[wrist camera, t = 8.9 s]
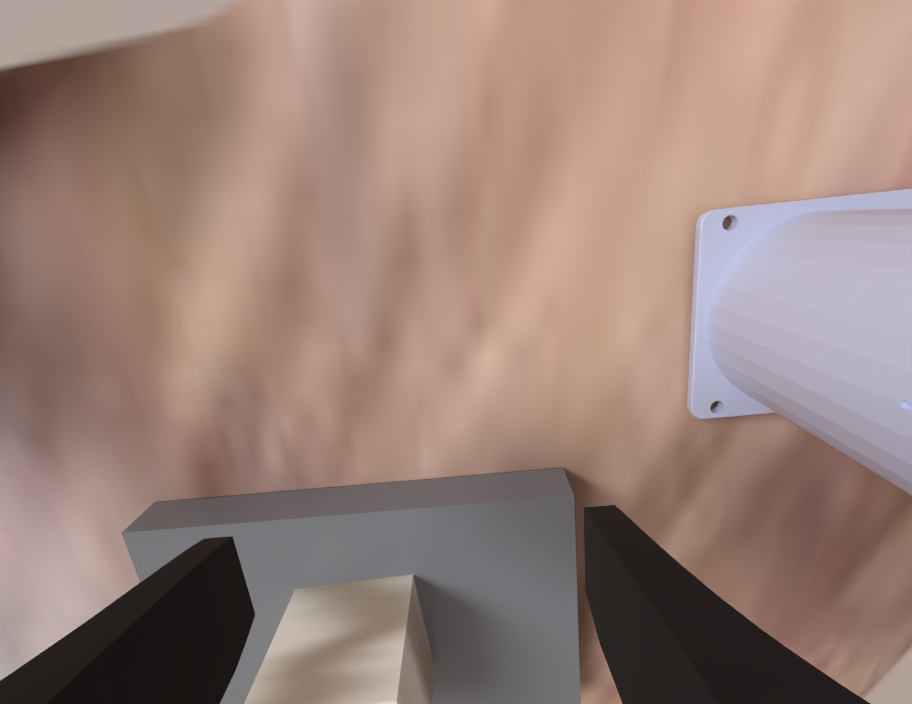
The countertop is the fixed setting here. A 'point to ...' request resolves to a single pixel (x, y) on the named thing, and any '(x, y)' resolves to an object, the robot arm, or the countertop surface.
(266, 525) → the slate board
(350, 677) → the cream cube
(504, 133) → the countertop surface
